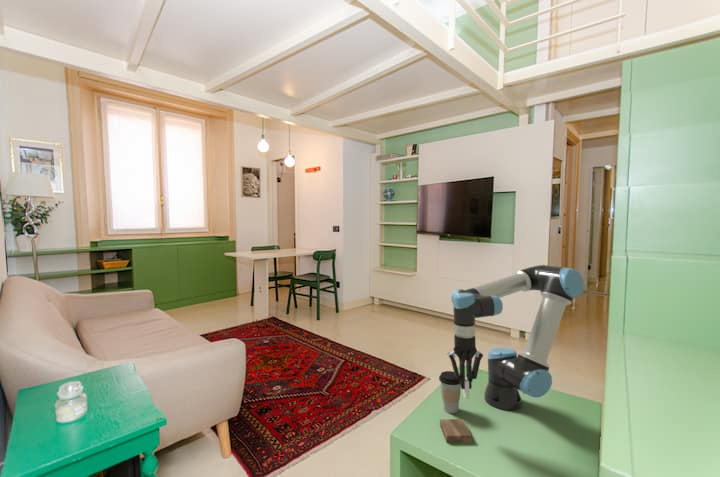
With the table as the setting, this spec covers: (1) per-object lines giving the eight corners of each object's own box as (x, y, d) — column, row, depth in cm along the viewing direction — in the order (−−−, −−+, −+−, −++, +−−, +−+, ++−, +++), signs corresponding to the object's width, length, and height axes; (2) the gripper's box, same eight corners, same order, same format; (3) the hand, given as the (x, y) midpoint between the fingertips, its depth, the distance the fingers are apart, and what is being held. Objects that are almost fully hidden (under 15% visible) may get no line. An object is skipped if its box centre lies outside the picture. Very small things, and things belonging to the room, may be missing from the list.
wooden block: (462, 419, 125) (439, 419, 125) (471, 435, 115) (446, 435, 115) (462, 426, 125) (439, 426, 125) (471, 443, 115) (446, 443, 115)
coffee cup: (459, 418, 130) (459, 382, 130) (436, 412, 135) (436, 377, 134) (464, 407, 138) (463, 372, 138) (442, 401, 143) (442, 368, 143)
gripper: (478, 331, 123) (479, 391, 124) (444, 332, 123) (446, 392, 124) (486, 337, 116) (487, 401, 117) (450, 339, 116) (451, 402, 116)
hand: (466, 396), depth 120 cm, fingers closed
